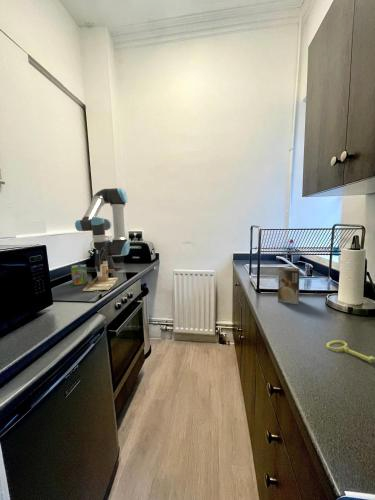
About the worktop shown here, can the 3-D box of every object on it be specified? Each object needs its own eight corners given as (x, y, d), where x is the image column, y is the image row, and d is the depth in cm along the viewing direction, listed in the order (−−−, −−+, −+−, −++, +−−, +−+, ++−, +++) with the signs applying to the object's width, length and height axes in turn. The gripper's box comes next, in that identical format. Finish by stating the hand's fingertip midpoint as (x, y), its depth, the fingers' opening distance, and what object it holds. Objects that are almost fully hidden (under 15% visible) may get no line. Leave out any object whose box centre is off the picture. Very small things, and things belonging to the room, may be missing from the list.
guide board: (95, 280, 153) (94, 275, 152) (117, 279, 154) (117, 274, 153) (82, 292, 131) (82, 286, 130) (109, 290, 132) (108, 284, 131)
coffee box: (298, 300, 110) (300, 268, 107) (298, 304, 104) (300, 271, 102) (278, 297, 114) (279, 266, 111) (277, 301, 108) (278, 269, 106)
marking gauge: (100, 279, 151) (99, 264, 149) (116, 278, 151) (114, 263, 150) (98, 281, 145) (96, 266, 143) (113, 280, 146) (112, 265, 144)
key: (373, 367, 63) (373, 360, 63) (323, 349, 72) (324, 343, 71) (377, 355, 68) (377, 349, 67) (330, 340, 77) (330, 334, 76)
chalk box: (73, 282, 151) (70, 260, 149) (87, 280, 155) (85, 259, 153) (72, 286, 143) (69, 263, 141) (88, 283, 147) (85, 261, 144)
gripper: (99, 238, 156) (102, 268, 159) (86, 244, 131) (90, 279, 135) (110, 238, 156) (113, 268, 160) (99, 243, 132) (103, 278, 136)
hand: (103, 273), depth 148 cm, fingers open, 13 cm apart
